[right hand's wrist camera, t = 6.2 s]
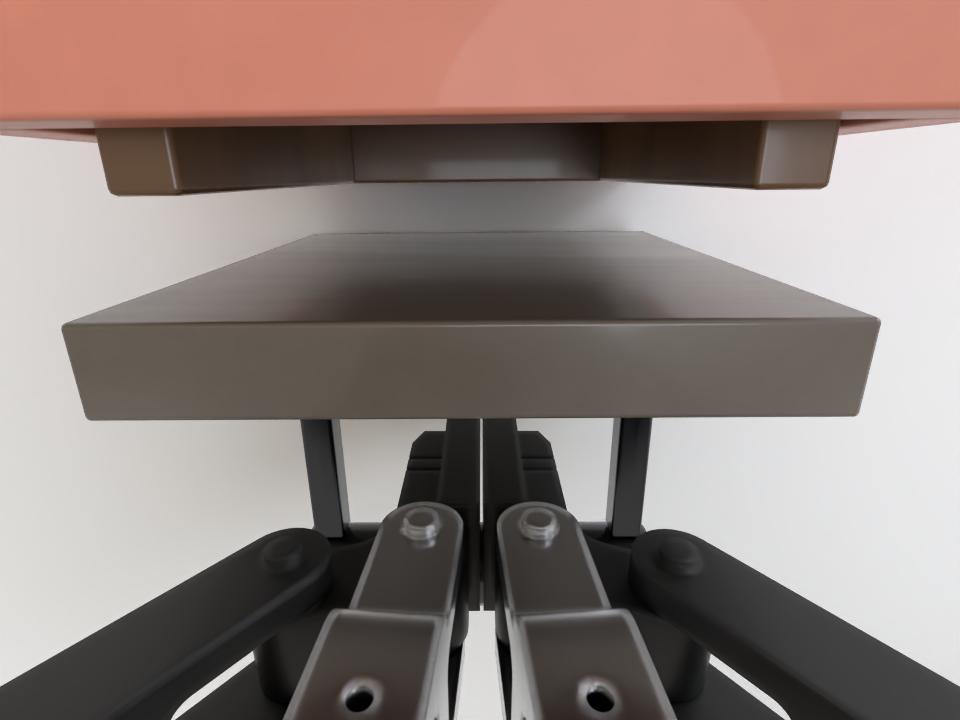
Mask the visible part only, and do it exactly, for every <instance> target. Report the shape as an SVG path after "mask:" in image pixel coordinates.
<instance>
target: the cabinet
mask: <svg viewBox="0 0 960 720" xmlns="http://www.w3.org/2000/svg"><path fill="white" fill-rule="evenodd" d="M826 119H841V123H840V128H839V133H838V135H846V134H855V133H864V132H873V131H882V130H892V129H901V128H910V127H919V126H929V125H938V124H947V123H956V122H960V0H0V135H5V136H17V137H30V138H43V139H55V140H68V141H80V142H93V143H98V142H97V137H96V133H95V128H142V127H228V126H313V125H399V124H484V123H570V122H655V121H741V120H826Z"/></svg>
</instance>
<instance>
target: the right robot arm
mask: <svg viewBox="0 0 960 720" xmlns="http://www.w3.org/2000/svg"><path fill="white" fill-rule="evenodd" d="M409 457H410V458H409V461H408V465H407V471H406V473H405V478H404V482H403V486H402V490H401V495H400V499H399V503H398V507H397V509H395V510H394V511H392V512H391V513H389V514H388V515H387V516H386V517H385V518H384V520H383V521H382V523H381V525H380V528H379V531H378V533H377V536H375V537H373V538H371V539H369V540H366V541H364V542H361V543H357V544H353V545H349V546H345V547H340V548H336V549H331V547H330V543H329V541H328V539H327V538H326V537H325V536H324V535H323V534H321V533H319V532H317V531H315V530H312V529H306V528H289V529H284V530H279V531H276V532H273V533H270V534H268V535H265V536H264V537H262V538H260V539H258V540H256V541H254V542H253V543H251V544H249V545H247V546H246V547H244V548H242V549H240V550H239V551H237V552H235V553H233V554H232V555H230V556H228V557H226V558H225V559H223V560H221V561H219V562H218V563H216V564H214V565H212V566H211V567H209V568H207V569H205V570H204V571H202V572H200V573H198V574H197V575H195V576H193V577H191V578H190V579H188V580H186V581H184V582H183V583H181V584H179V585H177V586H176V587H174V588H172V589H170V590H169V591H167V592H165V593H163V594H162V595H160V596H158V597H156V598H155V599H153V600H151V601H149V602H148V603H146V604H144V605H142V606H141V607H139V608H137V609H135V610H134V611H132V612H130V613H128V614H127V615H125V616H123V617H121V618H120V619H118V620H116V621H114V622H113V623H111V624H109V625H107V626H106V627H104V628H102V629H100V630H99V631H97V632H95V633H93V634H92V635H90V636H88V637H86V638H85V639H83V640H81V641H79V642H78V643H76V644H74V645H72V646H71V647H69V648H67V649H65V650H64V651H62V652H60V653H58V654H57V655H55V656H53V657H51V658H50V659H48V660H46V661H44V662H43V663H41V664H39V665H37V666H36V667H34V668H32V669H30V670H29V671H27V672H25V673H23V674H22V675H20V676H18V677H16V678H15V679H13V680H11V681H9V682H8V683H6V684H4V685H2V686H1V687H0V720H171V718H172V717H173V715H174V713H175V712H176V711H177V709H178V708H179V707H180V706H181V705H182V704H183V703H184V702H185V701H186V700H187V699H188V698H189V697H190V696H192V695H193V694H194V693H196V692H197V691H198V690H200V689H201V688H202V687H204V686H205V685H207V684H208V683H209V682H211V681H212V680H213V679H215V678H216V677H217V676H219V675H220V674H222V673H223V672H224V671H226V670H227V669H228V668H230V667H231V666H232V665H234V664H235V663H237V662H238V661H239V660H241V659H242V658H243V657H245V656H246V655H248V654H249V653H250V652H252V651H253V653H254V658H255V660H254V661H253V662H252V663H250V664H249V665H248V666H246V667H245V668H244V669H242V670H241V671H240V672H238V673H237V674H236V675H234V676H233V677H232V678H230V679H229V680H228V681H226V682H225V683H224V684H222V685H221V686H220V687H218V688H217V689H216V690H214V691H213V692H212V693H210V694H209V695H208V696H206V697H205V698H204V699H202V700H201V701H200V702H198V703H197V704H196V705H194V706H193V707H192V708H190V709H189V710H188V711H186V712H185V713H184V714H182V715H181V716H180V717H178V718H177V719H176V720H457V714H458V706H459V697H460V688H461V680H462V671H463V663H464V654H465V638H466V636H467V633H468V622H469V611H480V418H466V419H447V424H446V431H424V432H423V433H422V434H421V435H420V436H419V437H418V438H417V439H416V440H415V441H414V442H413V444H412V448H411V452H410V456H409ZM483 590H484V611H495V654H496V662H497V671H498V680H499V688H500V697H501V705H502V714H503V720H784V719H783V718H782V717H780V716H779V715H778V714H776V713H775V712H774V711H772V710H771V709H770V708H768V707H767V706H766V705H764V704H763V703H762V702H760V701H759V700H758V699H756V698H755V697H754V696H752V695H751V694H750V693H748V692H747V691H746V690H744V689H743V688H742V687H740V686H739V685H738V684H736V683H735V682H734V681H732V680H731V679H730V678H728V677H727V676H726V675H724V674H723V673H722V672H720V671H719V670H718V669H716V668H715V667H714V666H712V665H711V664H710V663H709V659H710V654H712V655H714V656H715V657H717V658H718V659H719V660H721V661H722V662H723V663H725V664H726V665H728V666H729V667H730V668H732V669H733V670H734V671H736V672H737V673H738V674H740V675H741V676H743V677H744V678H745V679H747V680H748V681H749V682H751V683H752V684H753V685H755V686H756V687H758V688H759V689H760V690H762V691H763V692H764V693H766V694H767V695H768V696H770V697H771V698H772V699H774V700H775V701H776V702H777V703H778V704H779V705H780V706H781V707H782V708H783V709H784V710H785V711H786V713H787V714H788V715H789V717H790V719H791V720H960V687H959V686H958V685H956V684H954V683H952V682H951V681H949V680H947V679H945V678H944V677H942V676H940V675H938V674H937V673H935V672H933V671H931V670H930V669H928V668H926V667H924V666H923V665H921V664H919V663H917V662H916V661H914V660H912V659H910V658H909V657H907V656H905V655H903V654H902V653H900V652H898V651H896V650H895V649H893V648H891V647H889V646H888V645H886V644H884V643H882V642H881V641H879V640H877V639H875V638H874V637H872V636H870V635H868V634H867V633H865V632H863V631H861V630H860V629H858V628H856V627H854V626H853V625H851V624H849V623H847V622H846V621H844V620H842V619H840V618H839V617H837V616H835V615H833V614H832V613H830V612H828V611H826V610H825V609H823V608H821V607H819V606H818V605H816V604H814V603H812V602H811V601H809V600H807V599H805V598H804V597H802V596H800V595H798V594H797V593H795V592H793V591H791V590H790V589H788V588H786V587H784V586H783V585H781V584H779V583H777V582H776V581H774V580H772V579H770V578H769V577H767V576H765V575H763V574H762V573H760V572H758V571H756V570H755V569H753V568H751V567H749V566H748V565H746V564H744V563H742V562H741V561H739V560H737V559H735V558H734V557H732V556H730V555H728V554H727V553H725V552H723V551H721V550H720V549H718V548H716V547H714V546H713V545H711V544H709V543H707V542H706V541H704V540H702V539H700V538H698V537H696V536H694V535H691V534H689V533H685V532H682V531H677V530H671V529H657V530H651V531H648V532H645V533H643V534H641V535H640V536H638V537H637V538H636V539H635V541H634V542H633V545H632V549H629V548H625V547H620V546H616V545H611V544H608V543H604V542H601V541H598V540H596V539H593V538H591V537H589V536H587V535H586V534H584V533H583V532H582V530H581V528H580V525H579V523H578V521H577V520H576V518H575V517H574V516H573V515H572V514H571V513H569V512H568V511H567V509H566V505H565V501H564V497H563V493H562V488H561V484H560V480H559V476H558V472H557V471H556V464H555V460H554V456H553V452H552V448H551V444H550V442H549V441H548V440H547V439H546V438H545V437H544V436H543V435H542V434H541V433H540V432H539V431H517V424H516V418H483Z"/></svg>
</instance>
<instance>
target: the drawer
mask: <svg viewBox="0 0 960 720" xmlns="http://www.w3.org/2000/svg"><path fill="white" fill-rule="evenodd" d="M840 123H841V119H826V120H741V121H655V122H570V123H484V124H399V125H313V126H228V127H142V128H95V133H96V137H97V142H98V146H99V150H100V155H101V159H102V164H103V168H104V172H105V177H106V181H107V185H108V189H109V191H110V193H111V194H114V195H116V196H182V195H196V194H210V193H224V192H238V191H251V190H265V189H279V188H293V187H307V186H320V185H334V184H348V183H415V182H511V181H617V182H634V183H650V184H667V185H683V186H700V187H717V188H733V189H750V190H798V189H822V188H824V187H826V186H827V185H828V183H829V179H830V174H831V169H832V164H833V159H834V153H835V148H836V143H837V138H838V133H839V128H840ZM880 325H881V321H880V319H879V318H877V317H875V316H872V315H869V314H866V313H864V312H861V311H858V310H856V309H853V308H850V307H847V306H845V305H842V304H839V303H836V302H834V301H831V300H828V299H826V298H823V297H820V296H817V295H815V294H812V293H809V292H806V291H804V290H801V289H798V288H796V287H793V286H790V285H787V284H785V283H782V282H779V281H777V280H774V279H771V278H768V277H766V276H763V275H760V274H757V273H755V272H752V271H749V270H747V269H744V268H741V267H738V266H736V265H733V264H730V263H727V262H725V261H722V260H719V259H717V258H714V257H711V256H708V255H706V254H703V253H700V252H697V251H695V250H692V249H689V248H687V247H684V246H681V245H678V244H676V243H673V242H670V241H667V240H665V239H662V238H659V237H657V236H654V235H651V234H648V233H646V232H643V231H605V232H498V233H390V234H314V235H311V236H309V237H306V238H303V239H300V240H297V241H295V242H292V243H289V244H286V245H283V246H281V247H278V248H275V249H272V250H269V251H267V252H264V253H261V254H258V255H255V256H253V257H250V258H247V259H244V260H241V261H239V262H236V263H233V264H230V265H227V266H225V267H222V268H219V269H216V270H213V271H211V272H208V273H205V274H202V275H199V276H196V277H194V278H191V279H188V280H185V281H182V282H180V283H177V284H174V285H171V286H168V287H166V288H163V289H160V290H157V291H154V292H152V293H149V294H146V295H143V296H140V297H138V298H135V299H132V300H129V301H126V302H124V303H121V304H118V305H115V306H112V307H110V308H107V309H104V310H101V311H98V312H96V313H93V314H90V315H87V316H84V317H82V318H79V319H76V320H73V321H70V322H68V323H65V324H63V325H62V329H61V330H62V333H63V337H64V340H65V344H66V348H67V351H68V355H69V358H70V362H71V366H72V369H73V373H74V376H75V380H76V384H77V387H78V391H79V394H80V398H81V402H82V405H83V409H84V412H85V416H86V418H87V419H88V420H277V419H300V421H301V429H302V436H303V444H304V451H305V459H306V466H307V474H308V481H309V489H310V496H311V504H312V511H313V519H314V527H313V528H312V530H315V531H317V532H319V533H321V534H323V535H324V536H325V537H326V538H327V539H328V541H329V543H330V547H331V549H336V548H340V547H345V546H349V545H353V544H357V543H361V542H364V541H366V540H369V539H371V538H373V537H375V536H377V533H378V531H379V528H380V525H381V523H382V522H357V523H350V514H349V505H348V496H347V486H346V477H345V467H344V458H343V449H342V439H341V430H340V421H339V419H466V418H614V424H613V436H612V449H611V461H610V474H609V486H608V499H607V511H606V522H578V523H579V525H580V528H581V530H582V532H583V533H584V534H586V535H587V536H589V537H591V538H593V539H596V540H598V541H601V542H604V543H608V544H611V545H616V546H620V547H625V548H629V549H632V545H633V542H634V541H635V539H636V538H637V537H638V536H640V535H641V534H643V533H645V532H646V530H645V528H644V527H643V525H642V524H641V522H642V512H643V503H644V493H645V484H646V474H647V465H648V456H649V446H650V437H651V427H652V418H655V417H845V416H857V415H858V413H859V411H860V407H861V403H862V398H863V394H864V390H865V386H866V382H867V378H868V374H869V370H870V366H871V362H872V358H873V354H874V350H875V345H876V341H877V337H878V333H879V329H880ZM480 606H484V590H483V522H480Z"/></svg>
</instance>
